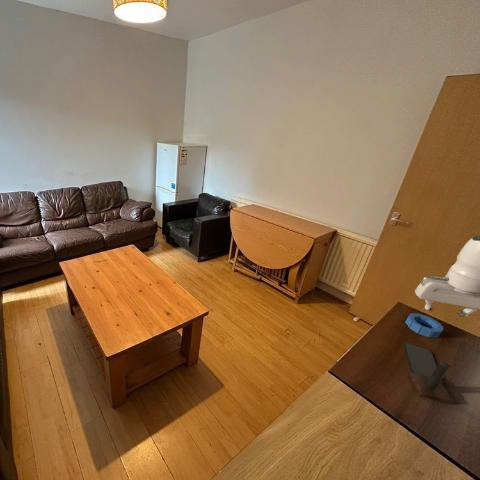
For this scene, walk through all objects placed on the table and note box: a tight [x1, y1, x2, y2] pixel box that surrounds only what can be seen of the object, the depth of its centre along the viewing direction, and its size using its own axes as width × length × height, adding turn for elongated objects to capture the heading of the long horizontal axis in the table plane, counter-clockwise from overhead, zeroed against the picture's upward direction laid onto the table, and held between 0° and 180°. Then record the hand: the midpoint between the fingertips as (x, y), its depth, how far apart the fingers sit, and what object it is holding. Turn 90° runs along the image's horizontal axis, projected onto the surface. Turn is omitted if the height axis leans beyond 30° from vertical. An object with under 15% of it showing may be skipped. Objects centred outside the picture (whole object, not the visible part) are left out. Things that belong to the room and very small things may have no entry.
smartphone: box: [402, 342, 444, 385], centre depth 82 cm, size 7×1×15 cm
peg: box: [407, 360, 455, 405], centre depth 72 cm, size 7×7×10 cm
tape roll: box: [405, 313, 445, 339], centre depth 95 cm, size 9×10×3 cm
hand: (444, 312), depth 91 cm, fingers open, 8 cm apart
